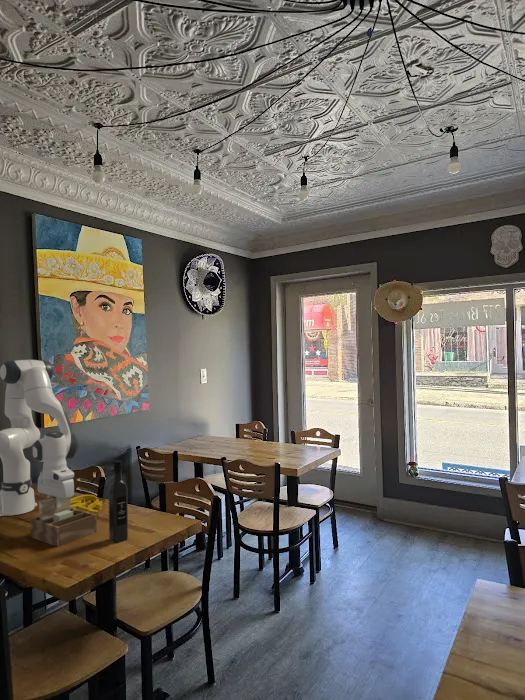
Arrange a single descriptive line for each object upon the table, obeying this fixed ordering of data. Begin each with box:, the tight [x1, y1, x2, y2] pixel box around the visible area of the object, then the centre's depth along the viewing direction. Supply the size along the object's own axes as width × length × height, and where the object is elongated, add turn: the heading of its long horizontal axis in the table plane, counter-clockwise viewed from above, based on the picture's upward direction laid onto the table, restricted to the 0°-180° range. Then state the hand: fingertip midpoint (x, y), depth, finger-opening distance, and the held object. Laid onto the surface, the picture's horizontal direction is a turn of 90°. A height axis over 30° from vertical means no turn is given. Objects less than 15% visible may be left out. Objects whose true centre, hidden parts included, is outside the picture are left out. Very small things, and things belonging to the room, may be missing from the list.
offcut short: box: [53, 510, 73, 522], centre depth 182 cm, size 4×6×3 cm, turn 147°
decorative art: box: [70, 494, 103, 518], centre depth 212 cm, size 21×3×30 cm
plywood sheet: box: [38, 496, 71, 521], centre depth 185 cm, size 2×12×14 cm, turn 147°
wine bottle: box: [108, 460, 129, 544], centre depth 176 cm, size 6×6×30 cm
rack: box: [30, 507, 98, 548], centre depth 182 cm, size 18×17×7 cm
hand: (55, 506), depth 185 cm, fingers closed on plywood sheet, 2 cm apart
